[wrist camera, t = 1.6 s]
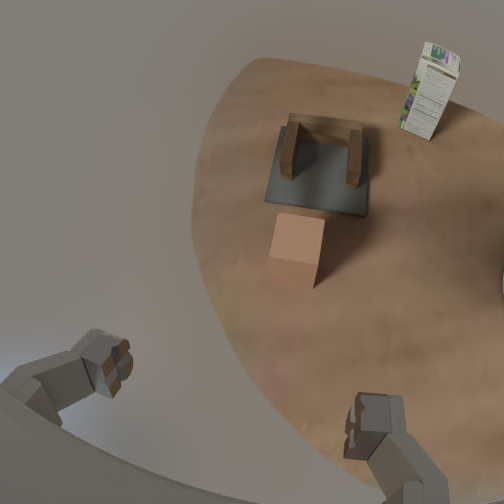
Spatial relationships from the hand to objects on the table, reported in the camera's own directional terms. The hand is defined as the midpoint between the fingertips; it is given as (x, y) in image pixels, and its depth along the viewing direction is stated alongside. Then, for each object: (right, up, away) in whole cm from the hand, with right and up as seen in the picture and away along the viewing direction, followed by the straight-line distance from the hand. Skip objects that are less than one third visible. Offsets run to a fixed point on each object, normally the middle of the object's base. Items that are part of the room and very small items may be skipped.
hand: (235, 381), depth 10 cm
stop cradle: (+10, +16, +32) cm, 37 cm away
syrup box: (+27, +25, +34) cm, 50 cm away
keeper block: (+6, +2, +28) cm, 28 cm away
